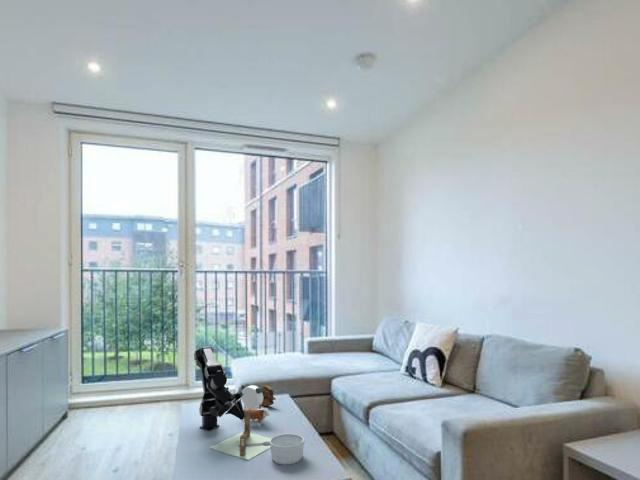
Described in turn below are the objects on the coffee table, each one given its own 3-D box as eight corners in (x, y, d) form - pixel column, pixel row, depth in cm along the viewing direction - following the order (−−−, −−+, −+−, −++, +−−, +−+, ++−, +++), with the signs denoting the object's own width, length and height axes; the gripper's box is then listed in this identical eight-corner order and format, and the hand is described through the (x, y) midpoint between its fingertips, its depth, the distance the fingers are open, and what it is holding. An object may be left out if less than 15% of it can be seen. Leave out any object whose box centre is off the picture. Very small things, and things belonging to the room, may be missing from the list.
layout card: (209, 448, 168) (209, 447, 168) (243, 431, 185) (243, 431, 185) (248, 460, 157) (248, 459, 157) (281, 441, 173) (281, 440, 173)
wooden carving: (251, 403, 225) (251, 384, 226) (257, 401, 229) (257, 382, 229) (271, 409, 214) (271, 389, 215) (278, 407, 218) (278, 387, 219)
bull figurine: (268, 428, 189) (268, 409, 190) (241, 426, 192) (241, 408, 192) (271, 424, 193) (271, 406, 194) (244, 422, 196) (244, 405, 197)
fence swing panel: (246, 443, 170) (246, 416, 171) (239, 443, 170) (239, 416, 171) (251, 434, 180) (251, 408, 181) (244, 434, 180) (244, 408, 181)
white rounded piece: (269, 416, 205) (268, 385, 206) (253, 423, 195) (253, 390, 196) (250, 412, 211) (250, 381, 212) (234, 418, 202) (234, 387, 203)
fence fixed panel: (240, 446, 170) (240, 435, 170) (245, 445, 170) (245, 435, 170) (240, 457, 160) (240, 446, 160) (245, 456, 160) (245, 445, 160)
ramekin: (272, 451, 165) (272, 433, 165) (305, 451, 164) (305, 432, 165) (267, 466, 152) (267, 447, 152) (303, 466, 151) (303, 446, 152)
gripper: (215, 397, 191) (237, 423, 189) (197, 411, 172) (223, 440, 170) (231, 380, 190) (254, 406, 188) (216, 392, 172) (241, 421, 170)
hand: (243, 418), depth 179 cm, fingers closed
